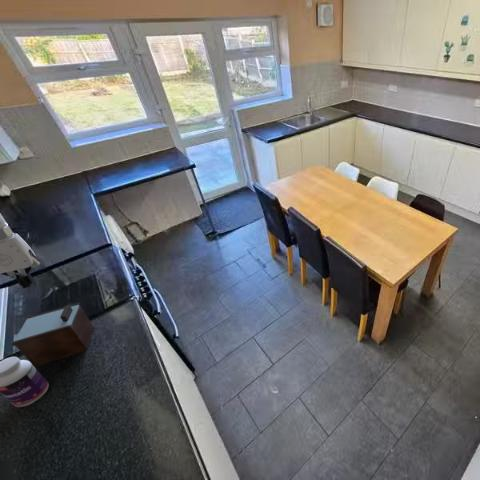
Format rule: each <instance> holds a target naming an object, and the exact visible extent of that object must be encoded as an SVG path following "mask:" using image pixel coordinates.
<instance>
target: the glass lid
mask: <svg viewBox="0 0 480 480" xmlns="http://www.w3.org/2000/svg"><path fill="white" fill-rule="evenodd" d="M70 305H71V304H68V305H65V306H64V307H65V308H64V309H61V310H57V311H54V312H50V313H47V314H43V315H39V316H36V317H32V318H28V317H27V319H26V320H25V322H24V323H23V325H22V327H21V329H20V330H19V331H18V333H17V335H16V336H15V337H14V339H13V342H15V341H19V340H22V339H25V338H29V337H32V336H35V335H39V334H42V333H45V332H49V331H52V330H56V329H59V328H62V327H66V326H69V325H70V326H71V325H72V323H73V320H74V318H75V315H76V313H77V310H78V308H79V305H75V306H72V307H71V306H70Z"/></svg>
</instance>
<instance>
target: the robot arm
mask: <svg viewBox="0 0 480 480" xmlns="http://www.w3.org/2000/svg"><path fill="white" fill-rule="evenodd" d="M40 265H41V262H40V261H39V260H38V257H37V255H36V253H35V251H34V250H33V249H32V248H31V246H30V245H29V244H28V243H27V242H26V241H25V239H23V238H22V237H21V236H20V235H19V234H18V233H16V232H13V230H12V228H11V227H10V225H9V224H8V222H7V221H6V220H5V218H4V216H3V215H2V213H0V276H7V277H9V278H11V279H12V280H13V279H14V280H15V281H16V282H17V284H18V285H19V286H21V288H23V289H27V288H31V287H32V286H33V284H34V283H35V279H34V277H33V276H32V275H31V270H33V269H36V268H37V267H39V266H40Z"/></svg>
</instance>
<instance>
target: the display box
mask: <svg viewBox="0 0 480 480" xmlns="http://www.w3.org/2000/svg"><path fill="white" fill-rule="evenodd" d="M69 305H70V306H71V307H72V306H75V305H79V308H78V310H77V313H76V315H75V318H74V320H73V323H72V325H71V326H70V325H69V326H66V327H62V328H59V329H56V330H52V331H49V332H45V333H42V334H39V335H35V336H32V337H29V338H25V339H22V340H19V341H15V342H11V345H12V346H15V347H16V348H17V349H18V350H19V351H20V353H22V355H23V356H24V357H25V358H26V360H27V361H29V362H30V363H31V364H32V365H33V366H34V367H35V368H38V367H41V366H43V365H46V364H49V363H53V362H55V361H58V360H59V361H60V360H61V359H64V358H68V357H70V356H74V355H77V354H79V353H82V352H86V351H88V350H89V346H90V344H91V340H92V338H93V337H92V336H93V333H94V331H95V327H94V325H93V323H92V322H91V320H90V318H89V317H88V316H87V314H86V313H85V311H84V310H83V308H82V306H81V303H80V302H76V303H72V304H69ZM64 308H65V306H62V307H59V308H55V309H50V310H48V311H44V312H40V313H36V314H33V315H29V316H27V319H28V318H32V317H36V316H39V315H43V314H47V313H50V312H54V311H57V310H61V309H64Z"/></svg>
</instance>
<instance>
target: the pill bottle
mask: <svg viewBox="0 0 480 480" xmlns="http://www.w3.org/2000/svg"><path fill="white" fill-rule="evenodd" d="M49 386H50V384H49V382H48V380H47V379H46V378H45V377H44V375H42V373H40V372H39V370H38V368H37V367H34V366H33V364H32V363H31V362H30V361H29V360H28V359H20V358H19V357H17V356H10V357H7V358H4V359H2V360H0V394H1V395H2V396H3V397H4V398H6V400H8V402H10V404H11V405H13V406H14V407H16V408H22V407H23V408H24V407H27V406H29V405H30V406H31V404H34V403H36V402H37V401H38V400H40V399H41V398H42V397H43V396H44V395H45V394H46V393H47V391H48V389H49Z"/></svg>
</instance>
